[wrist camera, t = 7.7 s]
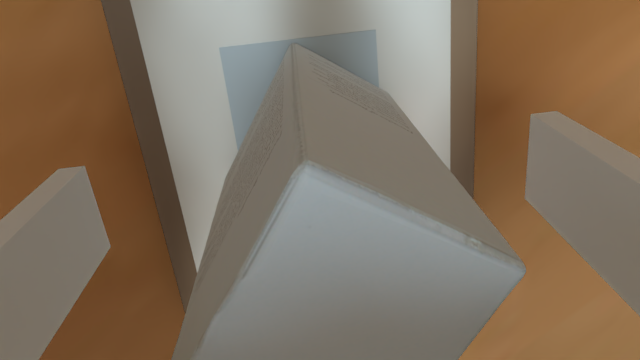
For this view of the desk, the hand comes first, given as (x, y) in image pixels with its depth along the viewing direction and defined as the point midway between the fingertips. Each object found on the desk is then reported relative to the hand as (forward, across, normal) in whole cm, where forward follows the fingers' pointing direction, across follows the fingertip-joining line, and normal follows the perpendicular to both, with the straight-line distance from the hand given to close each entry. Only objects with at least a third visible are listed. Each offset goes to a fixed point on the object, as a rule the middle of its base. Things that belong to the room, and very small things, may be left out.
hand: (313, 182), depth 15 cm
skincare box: (+5, 0, 0) cm, 5 cm away
